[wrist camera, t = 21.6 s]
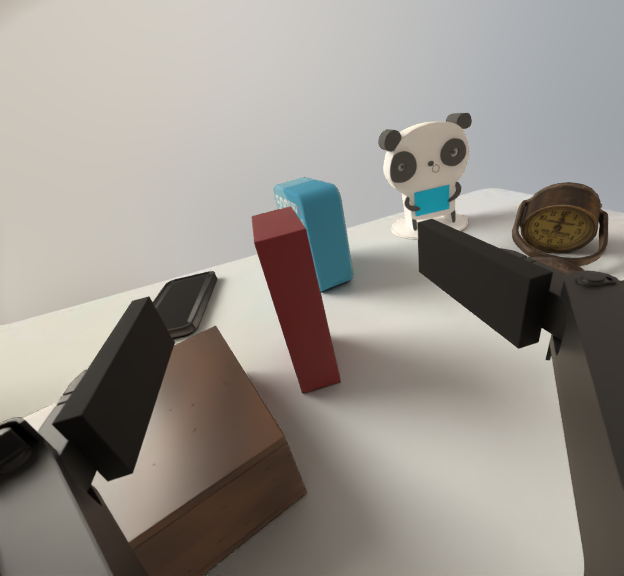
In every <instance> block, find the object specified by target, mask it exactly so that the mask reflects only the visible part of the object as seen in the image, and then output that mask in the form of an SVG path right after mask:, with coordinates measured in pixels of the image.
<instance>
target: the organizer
mask: <svg viewBox="0 0 624 576" xmlns="http://www.w3.org/2000/svg"><path fill="white" fill-rule="evenodd" d="M55 406H57V402H55V403H53V404H51V405H49V406H47V407H45V408H43V409H41V410H39V411H37V412H35V413H33V414H30V415H28V416H26V417H24V418H23V419H25V420H26V421H27V422H28V423H29V424H30V425H31V426H32V427H33V428H34V429H35V430H36V431H37V432H38V430H39V429H40V427H41V426H42V424H43V423H44V421H45V420H46V418H47V417H48V415H49V414H50V413H51V411H52V410H53V408H54V407H55ZM92 485H93V486H94V487H95V488H96V489H97V490H98V492H99V493H100V495H101V497H102V498H103V500H104V502H105V503H106V505H107V507H108V509H109V510H110V512H111V514H112V515H113V517H114V519H115V520H116V522H117V524H118V525H119V527H120V529H121V530H122V532H123V534H124V535H125V537H126V539H127V540H128V542H129V544H130V545H131V547H132V549H133V551H134V552H135V554H136V556H137V557H138V559H139V561H140V562H141V564H142V566H143V567H144V569H145V571H146V572H147V574H148V576H203V575H204V574H205V573H206V572H208V571H209V570H210V569H212V568H213V567H214V566H215V565H217V564H218V563H219V562H220V561H222V560H223V559H224V558H225V557H227V556H228V555H229V554H230V553H232V552H233V551H234V550H235V549H237V548H238V547H239V546H241V545H242V544H243V543H244V542H246V541H247V540H248V539H249V538H251V537H252V536H253V535H254V534H256V533H257V532H258V531H259V530H261V529H262V528H263V527H265V526H266V525H267V524H268V523H270V522H271V521H272V520H273V519H275V518H276V517H277V516H278V515H280V514H281V513H282V512H283V511H285V510H286V509H287V508H288V507H290V506H291V505H292V504H294V503H295V502H296V501H297V500H299V499H300V498H301V497H302V496H304V495H305V494H306V493H307V491H306V488H305V486H304V483H303V481H302V478H301V476H300V473H299V471H298V468H297V466H296V463H295V461H294V458H293V456H292V453H291V451H290V448H289V446H288V443H287V441H286V438H285V436H284V434H283V433H282V431H281V429H280V428H279V426H278V425H277V423H276V421H275V420H274V418H273V416H272V415H271V413H270V412H269V410H268V408H267V407H266V405H265V404H264V402H263V400H262V399H261V397H260V396H259V394H258V392H257V391H256V389H255V388H254V386H253V384H252V383H251V381H250V380H249V378H248V376H247V375H246V373H245V372H244V370H243V368H242V367H241V365H240V364H239V362H238V360H237V359H236V357H235V356H234V354H233V352H232V351H231V349H230V348H229V346H228V344H227V343H226V341H225V340H224V338H223V336H222V335H221V333H220V331H219V330H218V328H217V327H216V326H214V327H212V328H210V329H208V330H206V331H204V332H201V333H199V334H197V335H195V336H193V337H191V338H189V339H187V340H185V341H183V342H181V343H179V344H176V345H174V347H173V350H172V353H171V356H170V359H169V362H168V366H167V369H166V372H165V375H164V378H163V381H162V384H161V388H160V391H159V394H158V397H157V400H156V403H155V406H154V409H153V413H152V416H151V419H150V422H149V425H148V428H147V431H146V434H145V438H144V441H143V444H142V447H141V450H140V453H139V456H138V459H137V463H136V466H135V469H134V472H133V474H130V475H127V476H124V477H121V478H118V479H115V480H112V481H108V482H107V481H106V480H105V479H104V478H103V477H102V475H101V474H100V473H99V472H98V471H97V472H96V474H95V477H94V479H93V481H92Z"/></svg>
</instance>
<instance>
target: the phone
mask: <svg viewBox="0 0 624 576" xmlns="http://www.w3.org/2000/svg"><path fill="white" fill-rule="evenodd" d="M216 280H217V277H216V275H215V272H214V271H209V272H205V273H201V274H196V275H192V276H188V277H183V278H179V279H175V280H172V281H169V282H168V283H166V284H165V286H164V287H163V289H162V290H161V291H160V293H159V294H158V296H157V297H156V298H155V300H154V301H153V304H154V306H155V308H156V310H157V311H158V313H159V315H160V317H161V319H162V321H163V322H164V324H165V326H166V328H167V330H168V331H169V333H170V335H171V337H172V338H176V337H180V336H185V335H188V334H190V333H192V332H194V331H195V330H196V329H197V327H198V325H199V323H200V320H201V318H202V315H203V313H204V310H205V308H206V305H207V303H208V300H209V298H210V295H211V293H212V290H213V288H214V285H215V283H216Z"/></svg>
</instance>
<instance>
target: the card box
mask: <svg viewBox="0 0 624 576" xmlns="http://www.w3.org/2000/svg"><path fill="white" fill-rule="evenodd" d="M252 226H253V236H254V244H255V247H256V250H257V253H258V257H259V260H260V263H261V266H262V269H263V272H264V275H265V278H266V282H267V285H268V288H269V291H270V294H271V297H272V300H273V303H274V306H275V310H276V313H277V316H278V319H279V322H280V325H281V328H282V331H283V335H284V338H285V341H286V344H287V347H288V350H289V353H290V356H291V359H292V363H293V366H294V369H295V372H296V375H297V378H298V381H299V384H300V388H301V391H302V393H306V392H310V391H313V390H316V389H319V388H322V387H325V386H329V385H332V384H335V383H338V382H340V376H339V372H338V368H337V363H336V359H335V354H334V350H333V345H332V341H331V336H330V332H329V328H328V323H327V319H326V314H325V310H324V305H323V301H322V296H321V292H320V287H319V283H318V279H317V274H316V270H315V265H314V261H313V256H312V252H311V247H310V243H309V239H308V234H307V230H306V228H305V227H304V225H303V224H302V222H301V221H300V219H299V218H298V216H297V215H296V213H295V212H294V210H293V209H292V207H291V206H289V207H286V208H282V209H278V210H274V211H270V212H267V213H263V214H259V215H255V216H252Z"/></svg>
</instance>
